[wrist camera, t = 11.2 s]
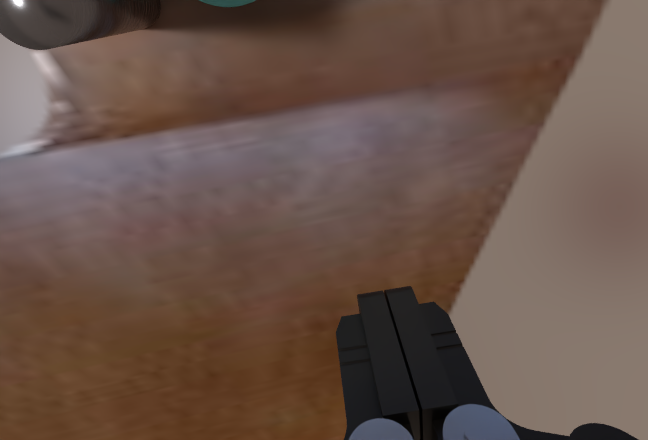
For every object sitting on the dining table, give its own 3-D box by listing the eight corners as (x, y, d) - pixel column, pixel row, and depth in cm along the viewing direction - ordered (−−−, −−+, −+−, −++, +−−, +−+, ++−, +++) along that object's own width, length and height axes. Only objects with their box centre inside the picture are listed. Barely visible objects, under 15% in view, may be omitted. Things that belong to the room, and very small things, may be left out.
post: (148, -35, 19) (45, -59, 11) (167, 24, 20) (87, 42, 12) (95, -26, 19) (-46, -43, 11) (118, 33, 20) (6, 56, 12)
